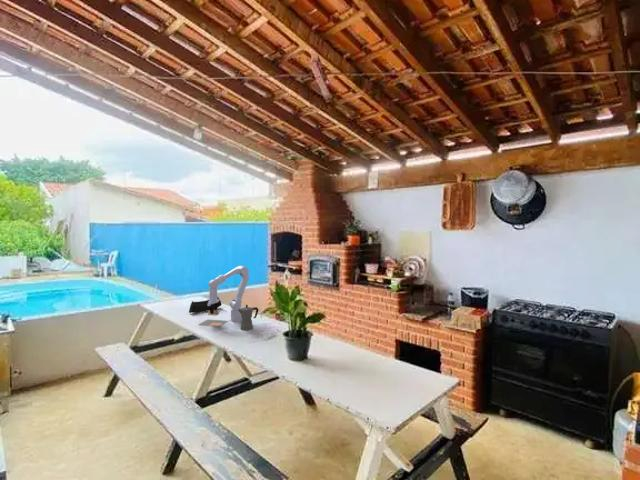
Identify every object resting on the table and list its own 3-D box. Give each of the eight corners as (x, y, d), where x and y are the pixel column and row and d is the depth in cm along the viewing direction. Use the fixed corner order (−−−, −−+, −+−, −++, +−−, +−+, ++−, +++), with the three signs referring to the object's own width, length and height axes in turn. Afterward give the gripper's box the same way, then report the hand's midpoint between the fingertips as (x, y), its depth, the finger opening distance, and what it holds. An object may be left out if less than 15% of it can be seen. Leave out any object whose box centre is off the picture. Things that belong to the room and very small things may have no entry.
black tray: (187, 304, 305) (217, 289, 326) (185, 303, 307) (215, 288, 328) (193, 322, 310) (222, 306, 331) (191, 321, 312) (220, 305, 333)
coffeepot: (238, 331, 264) (238, 306, 263) (236, 327, 272) (236, 304, 271) (259, 329, 269) (259, 305, 268) (257, 325, 278) (257, 302, 277)
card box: (210, 313, 284) (210, 309, 284) (218, 314, 282) (218, 310, 282) (208, 315, 280) (207, 311, 280) (216, 315, 278) (216, 311, 278)
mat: (228, 321, 288) (228, 320, 288) (219, 327, 272) (219, 326, 272) (207, 319, 291) (207, 319, 291) (197, 325, 276) (197, 325, 276)
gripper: (213, 293, 288) (213, 310, 289) (203, 297, 274) (203, 315, 275) (221, 294, 287) (221, 310, 287) (212, 297, 272) (212, 315, 273)
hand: (213, 313), depth 281 cm, fingers closed on card box, 4 cm apart
